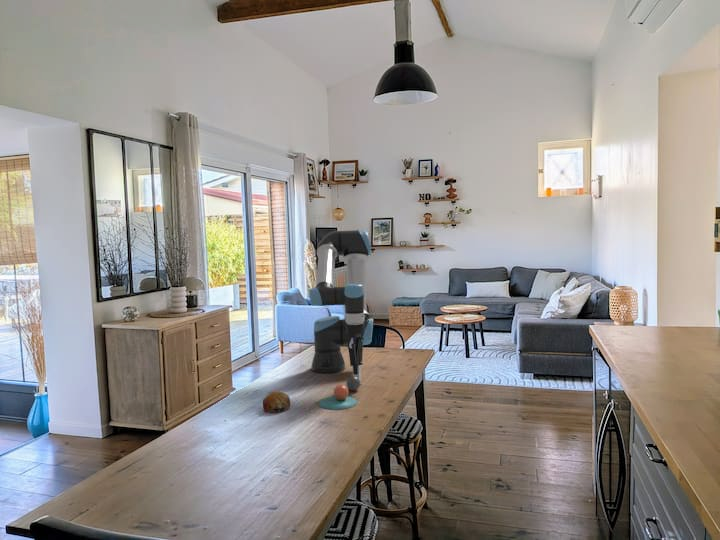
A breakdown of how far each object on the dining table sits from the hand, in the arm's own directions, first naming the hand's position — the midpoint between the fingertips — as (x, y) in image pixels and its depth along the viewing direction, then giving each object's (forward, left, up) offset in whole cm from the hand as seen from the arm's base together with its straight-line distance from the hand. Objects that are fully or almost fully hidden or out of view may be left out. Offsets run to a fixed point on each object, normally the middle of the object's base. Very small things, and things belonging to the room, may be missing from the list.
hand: (356, 381), depth 212 cm
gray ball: (+3, -4, +1) cm, 6 cm away
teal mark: (+11, -18, -2) cm, 21 cm away
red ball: (+9, -15, +1) cm, 17 cm away
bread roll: (+1, -37, -2) cm, 37 cm away
